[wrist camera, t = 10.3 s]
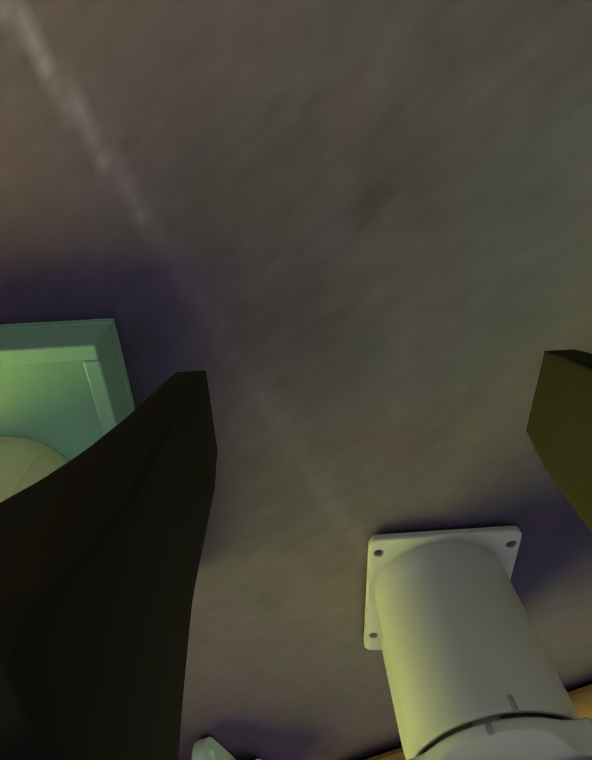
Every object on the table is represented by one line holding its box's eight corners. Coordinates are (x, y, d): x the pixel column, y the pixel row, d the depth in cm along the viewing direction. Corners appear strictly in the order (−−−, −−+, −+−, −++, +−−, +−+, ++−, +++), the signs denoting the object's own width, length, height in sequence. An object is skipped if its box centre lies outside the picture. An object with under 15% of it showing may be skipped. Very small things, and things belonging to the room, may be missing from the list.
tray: (175, 578, 27) (167, 620, 25) (-34, 592, 26) (-61, 636, 24) (114, 317, 19) (94, 344, 17) (-179, 333, 19) (-236, 363, 17)
